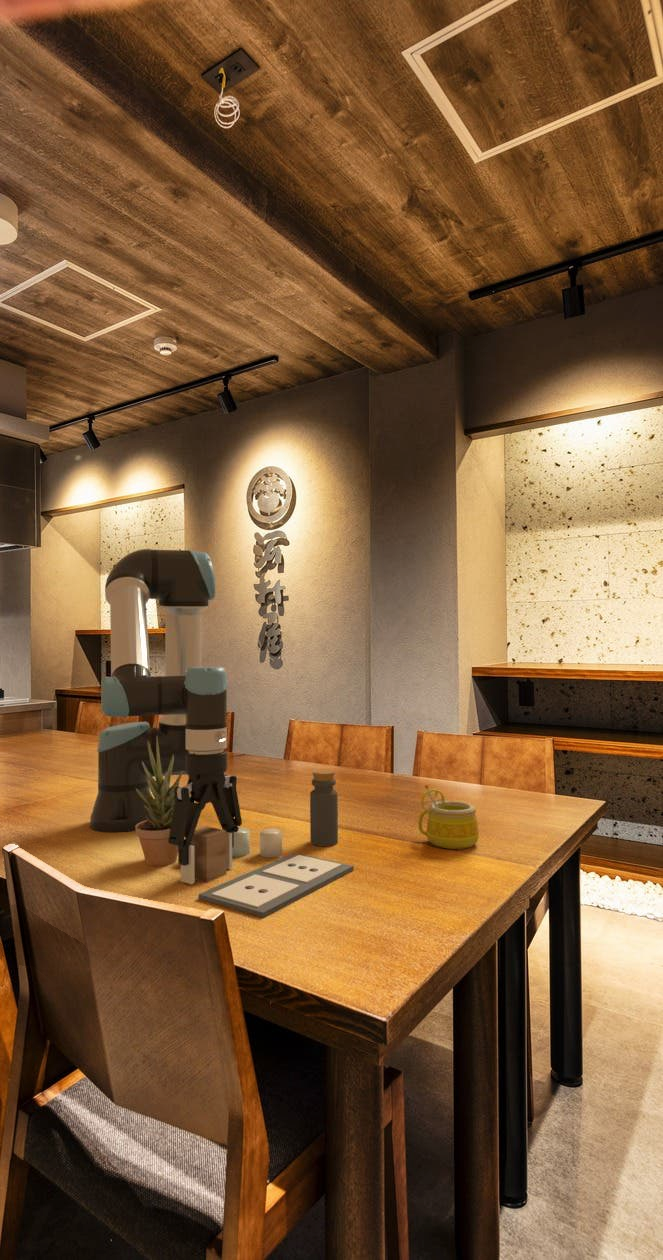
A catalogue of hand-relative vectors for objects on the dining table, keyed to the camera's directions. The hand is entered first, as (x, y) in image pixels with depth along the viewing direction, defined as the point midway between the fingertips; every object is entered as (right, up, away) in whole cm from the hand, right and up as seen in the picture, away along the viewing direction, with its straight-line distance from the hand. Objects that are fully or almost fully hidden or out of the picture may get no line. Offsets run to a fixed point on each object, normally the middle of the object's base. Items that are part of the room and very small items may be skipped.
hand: (207, 874), depth 124 cm
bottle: (+21, -1, +20) cm, 29 cm away
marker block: (0, 0, 0) cm, 0 cm away
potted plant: (-11, -1, +8) cm, 13 cm away
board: (+14, 0, -5) cm, 14 cm away
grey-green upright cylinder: (+4, 0, +13) cm, 14 cm away
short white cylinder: (+11, 0, +12) cm, 16 cm away
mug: (+47, 0, +19) cm, 51 cm away
